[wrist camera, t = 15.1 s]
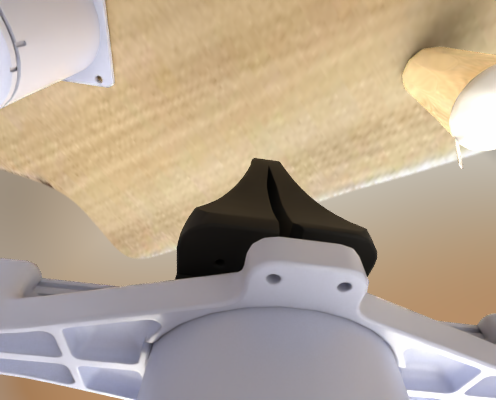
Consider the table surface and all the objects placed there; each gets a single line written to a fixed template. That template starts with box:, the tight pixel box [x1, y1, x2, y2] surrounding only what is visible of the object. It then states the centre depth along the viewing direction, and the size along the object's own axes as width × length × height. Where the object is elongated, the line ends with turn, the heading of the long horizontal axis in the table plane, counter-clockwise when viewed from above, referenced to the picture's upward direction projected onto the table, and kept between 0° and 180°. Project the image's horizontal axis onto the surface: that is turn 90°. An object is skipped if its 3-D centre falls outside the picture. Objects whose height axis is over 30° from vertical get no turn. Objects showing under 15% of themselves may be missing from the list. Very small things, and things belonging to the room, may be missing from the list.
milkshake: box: [402, 46, 496, 169], centre depth 17 cm, size 4×5×10 cm
